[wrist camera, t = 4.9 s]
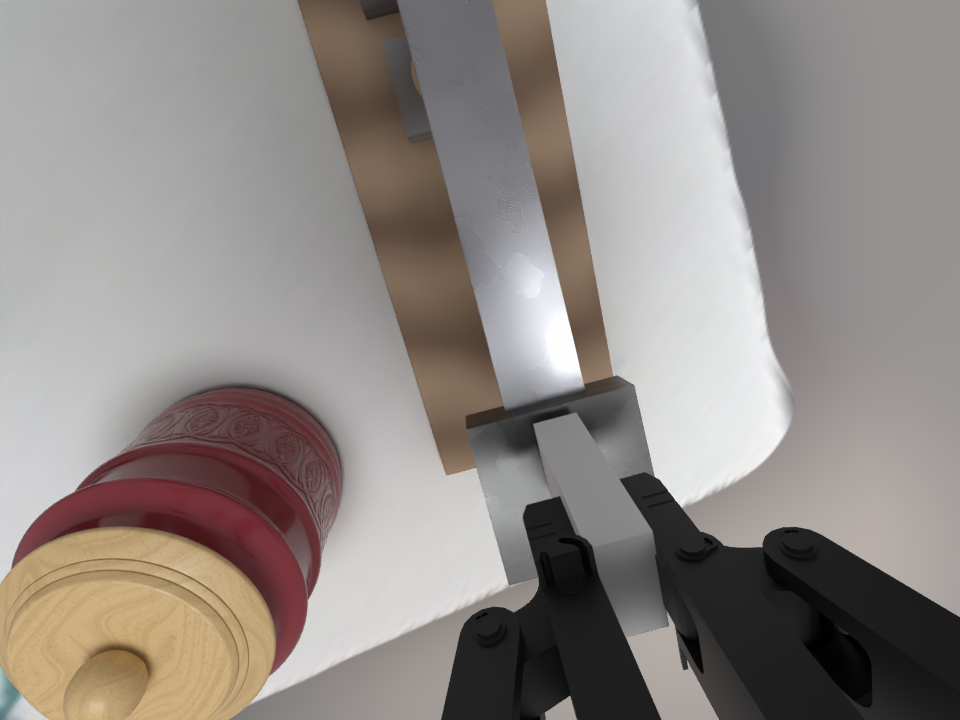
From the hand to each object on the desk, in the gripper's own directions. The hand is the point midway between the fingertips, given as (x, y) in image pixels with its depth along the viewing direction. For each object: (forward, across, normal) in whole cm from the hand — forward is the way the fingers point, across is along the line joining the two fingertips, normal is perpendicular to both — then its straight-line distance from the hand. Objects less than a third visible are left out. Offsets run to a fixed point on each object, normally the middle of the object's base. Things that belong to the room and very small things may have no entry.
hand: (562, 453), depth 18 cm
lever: (+5, 0, +8) cm, 9 cm away
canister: (+17, -19, -5) cm, 26 cm away
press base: (+17, 0, +8) cm, 19 cm away
